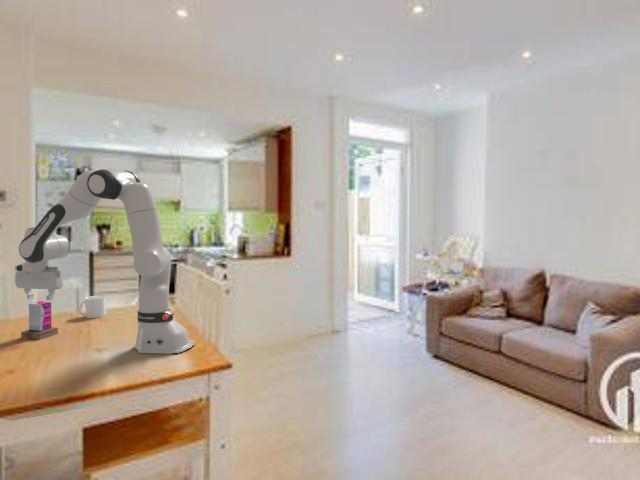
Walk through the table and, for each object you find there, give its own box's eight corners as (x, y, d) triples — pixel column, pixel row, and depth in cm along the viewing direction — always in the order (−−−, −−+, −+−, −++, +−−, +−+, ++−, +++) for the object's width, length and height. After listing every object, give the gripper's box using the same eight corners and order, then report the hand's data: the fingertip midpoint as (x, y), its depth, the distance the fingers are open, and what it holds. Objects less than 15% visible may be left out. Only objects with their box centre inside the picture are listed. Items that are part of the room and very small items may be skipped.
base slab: (57, 333, 183) (57, 327, 183) (39, 339, 174) (39, 333, 174) (39, 331, 185) (39, 326, 185) (21, 337, 176) (21, 331, 176)
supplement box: (40, 332, 176) (39, 304, 175) (28, 331, 177) (27, 303, 176) (52, 328, 181) (51, 301, 181) (40, 327, 183) (39, 300, 182)
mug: (104, 313, 219) (103, 295, 219) (107, 316, 212) (107, 298, 211) (77, 316, 212) (76, 297, 211) (80, 320, 205) (79, 300, 204)
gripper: (65, 265, 178) (67, 298, 179) (24, 264, 183) (26, 296, 184) (53, 267, 172) (55, 301, 173) (11, 266, 177) (13, 300, 178)
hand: (40, 299), depth 179 cm, fingers open, 8 cm apart
